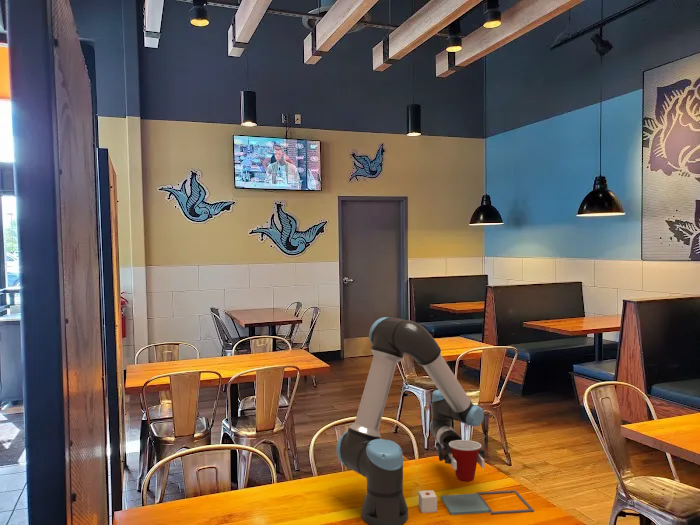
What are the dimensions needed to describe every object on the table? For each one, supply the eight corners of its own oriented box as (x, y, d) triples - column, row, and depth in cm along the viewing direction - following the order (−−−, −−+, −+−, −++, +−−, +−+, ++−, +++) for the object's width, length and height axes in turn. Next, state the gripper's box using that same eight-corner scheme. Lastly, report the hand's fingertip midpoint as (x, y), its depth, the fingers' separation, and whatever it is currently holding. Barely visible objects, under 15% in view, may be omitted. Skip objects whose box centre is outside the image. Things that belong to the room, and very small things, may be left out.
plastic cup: (479, 471, 189) (479, 437, 189) (483, 485, 178) (483, 449, 178) (447, 470, 190) (447, 437, 190) (450, 484, 180) (450, 449, 179)
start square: (491, 514, 178) (491, 512, 178) (476, 493, 193) (476, 492, 192) (534, 511, 180) (534, 510, 180) (515, 491, 194) (515, 490, 194)
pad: (450, 514, 178) (450, 512, 178) (440, 497, 190) (440, 495, 190) (489, 512, 179) (489, 510, 179) (476, 495, 191) (476, 493, 191)
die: (422, 512, 179) (422, 497, 179) (418, 505, 184) (418, 490, 184) (436, 511, 180) (436, 496, 180) (432, 504, 185) (432, 489, 185)
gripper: (477, 448, 203) (500, 474, 181) (421, 451, 201) (437, 478, 178) (477, 428, 203) (500, 451, 181) (420, 431, 201) (437, 455, 178)
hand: (469, 464), depth 180 cm, fingers closed on plastic cup, 9 cm apart
